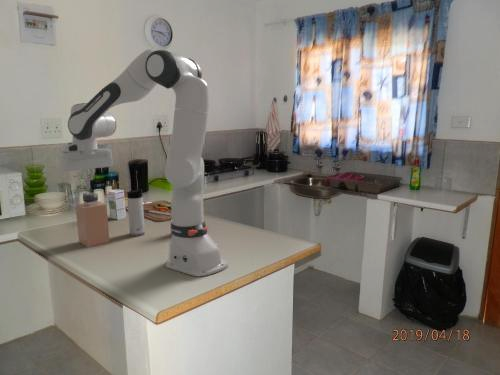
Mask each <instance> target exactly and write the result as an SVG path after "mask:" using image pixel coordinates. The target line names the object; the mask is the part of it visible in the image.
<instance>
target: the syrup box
mask: <svg viewBox="0 0 500 375" xmlns="http://www.w3.org/2000/svg"><path fill="white" fill-rule="evenodd" d="M107 194H108V205H109V206H108V207H109V218H110V219H112V220H118V221H119V220H123V219H125V218H127V214H126V213H127V211H126V210H125V207H126V202H125V200H126V198H125V191H124V190H123V189H118V188H115V189H109V190H108V191H107Z"/></svg>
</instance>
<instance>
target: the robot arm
mask: <svg viewBox="0 0 500 375" xmlns="http://www.w3.org/2000/svg"><path fill="white" fill-rule="evenodd" d="M202 75H203V74H202V68H201V66H200V65H199V64H198V63H197V62H196V61H195V60H193V59H191V58H188V57H186V56H184V55H182V54H181V53H176V52H173V51H172V52H171V51H169V50H165V49H158V50H155V49H146V50H144V51H143V52H141V53H139V55H137V56H136V57H135V58H134V59H133V60H132V61H131V63H129V64H128V65H127V67H126V68H125V69H124V70H123V71H122V72H121V73H120V74H119V76H117V77H116V78H115V79H113V80H112V81H111V82H110V83H108V84H106V86H104V87H103V88H102V89H101V90H99V91H98V93H96V94H95V95H94V96H93V97H92V98H91V99H90V100H89V101H88V102H82V103H76V104H73V105H72V106H71V108H70V116H69V118H68V121H67V128H68V131H69V133H70V134H71V135H72V137H71V138H72V141H70V142H67V143H66V144H63V145H60V147H59V148H60V151H61V152H60V154H59V156H58V165H59V170H61V172H63V173H65V172H66V173H67V172H73V171H74V172H75V171H80V173H81V174H82V176H83V178H84V181H86V182H87V181H93V180H94V175H95V173H96V169H101V168H108V167H109V168H111V167H113V166H114V159H113V158H114V157H113V155H112V153H113V151H112V150H113V149H112V146H111V145H109V144H107V143H104V144H98V138H105V137H110V136H112V135H113V134H115V132H116V129H117V122H116V119H115V117H114V115H113V114H111V113H110V112H108V111H109V110H110V109H112V108H113V107H115V106H116V107H117V106H119V105H122V104H126V103H127V104H128V103H132V102H137V101H140V100H142V99H144V98H145V97H146V96H148V95H150V93H151V92H152V90H153V89H154V88H156V86H157V85H160V86H161V87H164V88H165V89H167V90H169V89H172V90H173V92H174V93H175V103H174V104H175V105H174V112H173V123H172V132H171V133H172V134H171V139H170V141H169V146H168V152H167V158H166V162H165V165H164V166H165V167H164V177H165V179H166V180H167V182H168V183H169V184H170V185H172V193H171V199H170V202H171V213H172V222H170V233H171V238H170V241H169V243H168V261H167V262H166V264H165V267H166V268H168V269H171V270H174V271H177V272H180V273H184V274H185V275H186V274H187V275H190V276H194V277H203V276H209V275H212V274H216V273H218V272H220V271H223V270H225V269H226V268H227V267H229V263H228V262H227V261H226V260H224V259H223V258H222V256H221V248H220V247H219V244H218V243H215V241H214V240H213V239H212V237H211V236H210V235H209V234H208V230H209V229H208V228H209V226H207V224H206V221H205V220H204V190H205V188H204V187H205V162H204V159H203V157H202V154H203V150H204V144H205V141H206V140H205V139H206V136H207V135H206V134H207V127H208V126H207V125H208V124H207V123H208V116H209V104H210V103H209V102H210V100H209V99H210V98H209V86H208V84H207V81H205V80H204V79H202V77H203V76H202ZM87 170H89V171H90V172H89V175H87Z"/></svg>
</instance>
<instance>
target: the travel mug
mask: <svg viewBox="0 0 500 375" xmlns="http://www.w3.org/2000/svg"><path fill="white" fill-rule="evenodd" d="M143 191H144V190H143V189H133V190H130V191H126V194H127V196H126V197H127V206H128V211H127V212H128V226H129V235H130V236H131V237H140V236H143V235H145V234H146V232H145V230H146V228H145V217H144V213H143V203H144V198H143Z"/></svg>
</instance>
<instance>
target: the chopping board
mask: <svg viewBox="0 0 500 375" xmlns="http://www.w3.org/2000/svg"><path fill="white" fill-rule="evenodd" d="M127 208H128V205H127V206H125V211H126V212H128V209H127ZM143 213H144V219H147V220H151V221H153V222H156V223H165V222H169V221H170V223H172V213H171V201H168V200H155V201H147V202H143Z"/></svg>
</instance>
